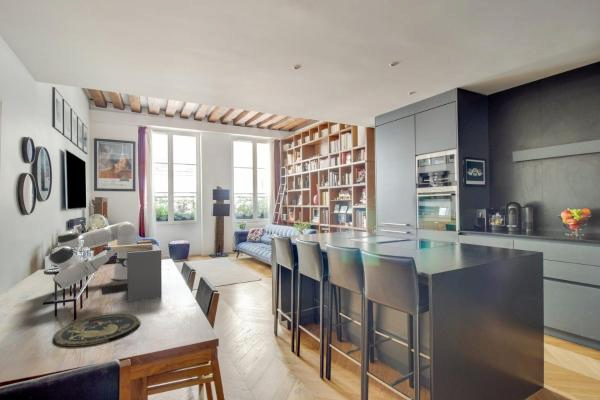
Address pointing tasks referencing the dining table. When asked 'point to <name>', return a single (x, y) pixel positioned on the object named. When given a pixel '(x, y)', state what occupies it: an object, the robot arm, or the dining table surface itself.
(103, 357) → the dining table surface
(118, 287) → the tablet
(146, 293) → the grey upright box
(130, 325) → the decorative plate
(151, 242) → the walnut offcuts
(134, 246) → the birch lath
